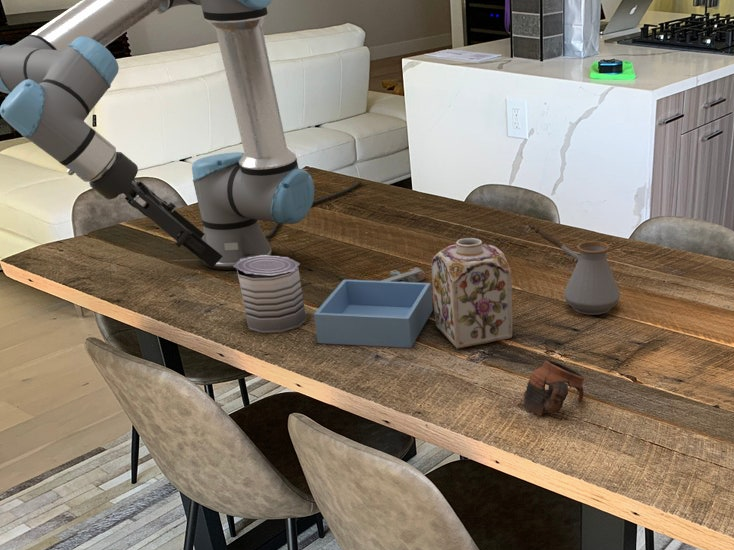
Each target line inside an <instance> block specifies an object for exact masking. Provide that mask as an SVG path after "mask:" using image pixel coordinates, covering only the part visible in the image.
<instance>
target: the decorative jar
mask: <svg viewBox="0 0 734 550" xmlns="http://www.w3.org/2000/svg"><path fill="white" fill-rule="evenodd" d="M430 264H431V281H432V283H431V284H432V300H433V308H434V322H435V326H436V328H437V329H438V330H439V331H440V332H441V334H443V335H444V337H445V338H446V339H448V341H449V342H450V343H451V344H452V345H453V346H454V347H455V348H456V349H457V350H458V349H459V350H460V349H463V348H469V347H474V346H480V345H484V344H489V343H494V342H498V341H503V340H509V339H512V337H513V326H514V325H513V322H514V321H513V319H514V318H513V317H514V316H513V283H512V282H513V281H512V269H511V267H510V264H509V262H508V261H507V259H506V255H505V253H504V252H503V251H501V250H500V248H498V247H496V246H495V245H492V244H487V243H483V241H482V240H481V239H480V238H475V237H466V238H460V239H458V240H456V242H455V244H450V245H448V246H446V247H445V248H442V249H441V250H439V251H438V252H437V253H436V254H435V255H434V256H433V257H432V259H431V262H430Z"/></svg>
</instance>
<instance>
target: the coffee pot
mask: <svg viewBox="0 0 734 550" xmlns="http://www.w3.org/2000/svg"><path fill="white" fill-rule="evenodd" d="M528 228H529V229H528ZM527 229H528V230H527ZM530 230H533V231H534V233H535V234H538V235H539V236H541V237H542V238H543V239H544V240H545V241H547V242H549V243H551V244H552V245H554V246H555V247H557V248H559V250H560V249H561V250H562V251H564V252H565V253H566V254H568V255H569V256H571V257H572V258H574V259H575V260H577V263H576V265H575V266H574V269H573V270H572V273H571V275H570V278H569V280H568V282H567V284H566V287H565V289H564V291H563V297H564V301H565V302H566V303H567V304H568V306H570V308H572V310H573V311H574V312H577V313H579V314H583V315H589V316H590V315H591V316H594V315H603V314H606V313H608V312H609V311H611V309H612V308H614V307H615V306H616V305H617V304H618V303H619V301H620V299H621V292H620V289H619V286H618V284H617V282H616V279H615V276H614V274H613V271H612V269H611V267H610V263H609V261H608V259H607V254H608V251H609V250H610V245H609V244H607V243H606V242H603V241H595V240H592V241H583V242H580V243H578V244H577V245H576V249H577V251H578V253H579V254H577V253H576V252H575V251H573V250H571V249H570V248H569V247H566V246H565V245H564V244H563V243H562V242H560V241H559V240H557V239H556V238H554V237H553V236H552V235H551V234H549V233H548V232H545V231H543V230H541V228H540V227H536V225H534V224H532V223H530V222H529V223H527V225H526V227H525V228H524V233H528V232H529V231H530Z"/></svg>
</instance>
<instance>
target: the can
mask: <svg viewBox="0 0 734 550" xmlns="http://www.w3.org/2000/svg"><path fill="white" fill-rule="evenodd" d="M300 265H301V263H300V262H298V261H296V260H294V259H292V258H290V257H288V256H283V255H282V256H281V255H272V256H269V255H260V256H254V257H248V258H242V259H240V260H239V261H238V262H237V263H236V264H235V265H234V266H233V267H235V268H237V270H236V272H237V276H238V277H237V278H238V283H239V287H240V288H239V289H240V292H241V299H242V303H243V308H244V314H245V319H246V323H247V326H248V330H250V331H253V332H257V333H261V334H272V333H274V334H276V333H277V334H278V333H284V332H287V331H292V330H295V329H298V328H300V327H301V326H302V325H303V324H304V323H305V322H307V315H306V308H305V302H304V296H303V290H302V282H301V277H300V276H301V275H300V270H299V266H300Z"/></svg>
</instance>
